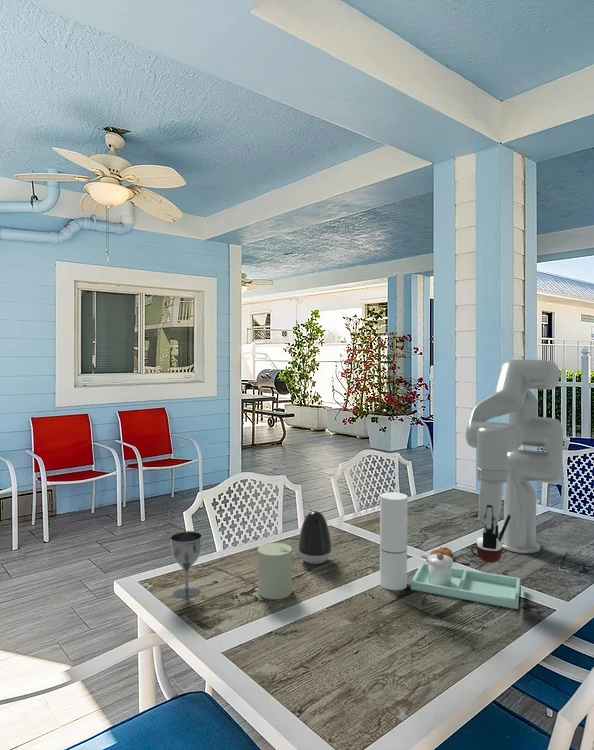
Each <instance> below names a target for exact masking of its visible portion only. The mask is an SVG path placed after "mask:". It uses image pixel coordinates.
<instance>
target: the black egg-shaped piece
mask: <svg viewBox="0 0 594 750" xmlns="http://www.w3.org/2000/svg"><path fill="white" fill-rule="evenodd" d="M327 522H328V521H326V518H325V516H324V514H323V513H321V512H320V511H319V510H318V511H317V510H315V511H314V510H313V511H310V512H309V513H308V514H307V515H306V517H305V518H304V520H303V522H302V526H301V529H300V534H299V538H298V543H297V544H298V547H297V549H298V551H299V555H300V557H301V559H302V560H303V561H304V562H305V563H308V564H311V565H319V564H323V563H324V562H326V561H327V560H328V559H329V557H330V555H331V552H332V551H333V545H332V537H331V534H330V533H331V532H330V529H329V528H330V527H329V526H328V523H327Z"/></svg>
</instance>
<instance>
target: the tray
mask: <svg viewBox="0 0 594 750" xmlns="http://www.w3.org/2000/svg"><path fill="white" fill-rule="evenodd" d="M428 580H429V563H428V562H422V561H421V563H420V565H419V566H418V568H417V570H416V572H415V573H414V575H413V577H412V579H411V581H410V590H412V591H418V592H424V593H429V594H434V595H439V596H445V597H450V598H455V599H461V600H467V601H471V602H472V601H473V602H477V603H482V604H488V605H494V606H499V607H504V608H508V609H514V610H519V605H520V604H519V602H520V601H519V600H520V587H521V578H520V577H514V576H508V575H503V574H496V573H489V572H485V571H480V570H479V571H478V570H473V569H466V568H459V567H453V566H452V583H451V586H450V587H445V586H440V585H434V584H429V582H428Z"/></svg>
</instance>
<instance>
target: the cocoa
mask: <svg viewBox="0 0 594 750" xmlns="http://www.w3.org/2000/svg"><path fill="white" fill-rule="evenodd" d="M510 518H511V517H510V515H508V516H507V518H506V521H505V523H504V522H503V526H502V528H501V530H500V533H499V534H498V539H496V549H490V548H484V547H483V536H480V537H478V538H477V539H476V546H475V545H472V546H471V547H470V551H471V553H472V554H473V555H474V556H475V557H477V558H479V559H480V560H482V561H483V562H485V563H492V564H493V563H496V562H499V560H500V559H501V557H502V555H503V548H502V545H503V544H502V541H501V539H502V537H504V532H505V530H506V527H507V525H508V522H509V520H510ZM474 549H476V552H477V554H476V552H475V551H474Z"/></svg>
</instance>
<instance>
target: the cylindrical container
mask: <svg viewBox="0 0 594 750" xmlns="http://www.w3.org/2000/svg"><path fill="white" fill-rule="evenodd" d="M379 498H380V499H379V501H380V502H379V505H380V506H379V509H380V511H379V585H380V587H382V588H383V589H386V590H388V591H389V590H390V591H401V590H404V589H406V588H407V586H408V582H407V581H408V495H407V494H405V493H401V492H397V491H391V492H390V491H389V492H383V493H381V494H380V496H379Z"/></svg>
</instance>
